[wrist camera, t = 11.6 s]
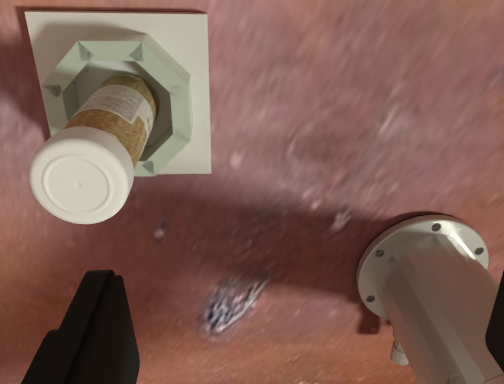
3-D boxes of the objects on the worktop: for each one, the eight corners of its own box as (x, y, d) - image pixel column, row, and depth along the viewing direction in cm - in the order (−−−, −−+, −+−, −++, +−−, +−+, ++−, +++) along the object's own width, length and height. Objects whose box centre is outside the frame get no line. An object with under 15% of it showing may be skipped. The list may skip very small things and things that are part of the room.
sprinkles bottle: (148, 140, 33) (111, 239, 22) (89, 117, 32) (15, 209, 20) (169, 86, 32) (141, 162, 20) (107, 59, 30) (37, 124, 19)
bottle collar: (211, 168, 36) (210, 191, 32) (63, 169, 35) (45, 193, 32) (207, 12, 30) (205, 20, 27) (30, 10, 29) (4, 17, 26)
